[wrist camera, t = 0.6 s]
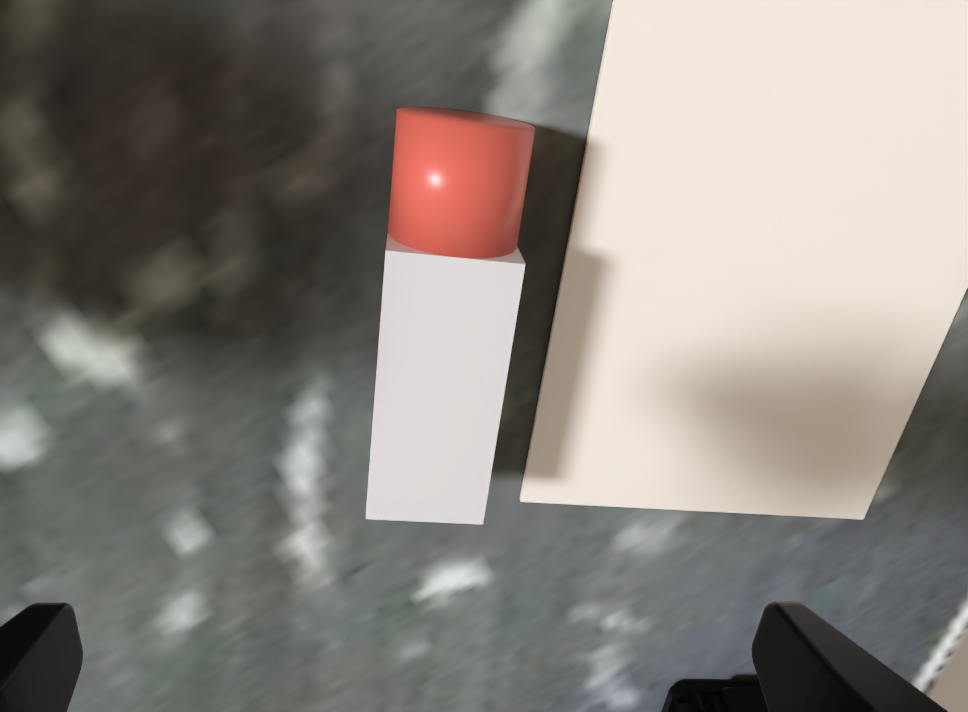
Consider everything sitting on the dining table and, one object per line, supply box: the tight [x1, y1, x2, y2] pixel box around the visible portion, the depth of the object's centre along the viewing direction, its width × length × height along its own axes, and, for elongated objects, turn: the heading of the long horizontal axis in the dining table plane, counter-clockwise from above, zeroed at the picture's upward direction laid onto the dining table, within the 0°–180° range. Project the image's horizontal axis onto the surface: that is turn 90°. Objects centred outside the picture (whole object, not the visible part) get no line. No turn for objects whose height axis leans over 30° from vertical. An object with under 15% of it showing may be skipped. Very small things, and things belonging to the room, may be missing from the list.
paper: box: [520, 0, 968, 520], centre depth 21 cm, size 18×13×1 cm
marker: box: [366, 107, 535, 525], centre depth 19 cm, size 11×3×3 cm, turn 172°
